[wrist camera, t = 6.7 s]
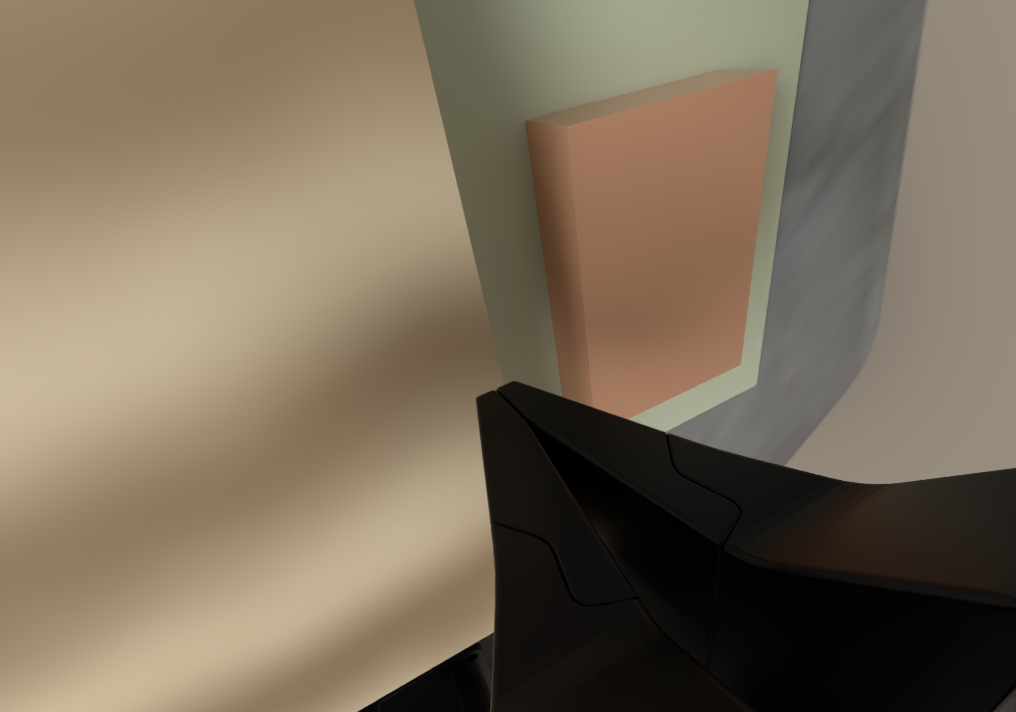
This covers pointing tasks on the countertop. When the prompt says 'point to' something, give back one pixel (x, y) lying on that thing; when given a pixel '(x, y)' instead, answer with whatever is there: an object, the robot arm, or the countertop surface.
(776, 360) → the countertop surface
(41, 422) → the tan wooden flat block
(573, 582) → the robot arm
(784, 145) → the mat
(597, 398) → the tile
